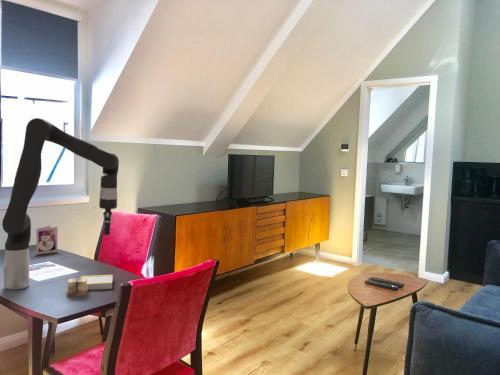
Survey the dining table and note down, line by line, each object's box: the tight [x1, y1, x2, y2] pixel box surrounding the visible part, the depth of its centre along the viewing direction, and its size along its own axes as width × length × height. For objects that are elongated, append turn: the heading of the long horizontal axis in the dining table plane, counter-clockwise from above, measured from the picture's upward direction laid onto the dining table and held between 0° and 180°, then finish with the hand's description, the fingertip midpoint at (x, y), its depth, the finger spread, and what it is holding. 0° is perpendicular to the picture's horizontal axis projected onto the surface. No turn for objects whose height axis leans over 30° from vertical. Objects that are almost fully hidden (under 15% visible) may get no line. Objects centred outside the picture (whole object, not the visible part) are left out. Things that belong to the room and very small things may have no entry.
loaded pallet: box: [65, 277, 89, 297], centre depth 175 cm, size 8×5×6 cm, turn 107°
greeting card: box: [35, 225, 58, 255], centre depth 240 cm, size 11×7×15 cm, turn 132°
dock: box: [80, 274, 114, 291], centre depth 187 cm, size 14×12×3 cm
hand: (107, 233), depth 186 cm, fingers open, 8 cm apart
